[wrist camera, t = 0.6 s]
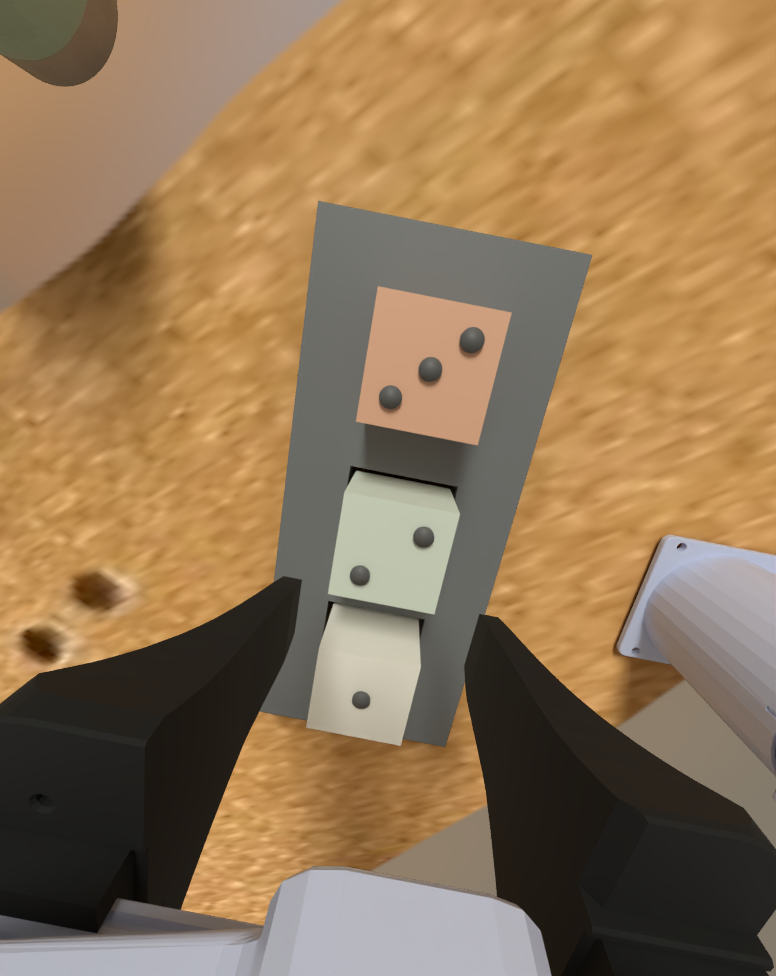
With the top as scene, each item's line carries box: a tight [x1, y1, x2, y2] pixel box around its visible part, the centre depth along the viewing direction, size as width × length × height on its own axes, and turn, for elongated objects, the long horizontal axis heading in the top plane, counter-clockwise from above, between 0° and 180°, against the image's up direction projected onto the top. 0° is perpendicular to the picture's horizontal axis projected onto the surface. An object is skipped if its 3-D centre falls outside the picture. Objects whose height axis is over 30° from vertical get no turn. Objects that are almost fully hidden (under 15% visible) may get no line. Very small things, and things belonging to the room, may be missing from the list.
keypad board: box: [260, 201, 592, 747], centre depth 21 cm, size 12×28×2 cm, turn 169°
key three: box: [356, 286, 512, 445], centre depth 16 cm, size 5×5×4 cm
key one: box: [306, 602, 421, 746], centre depth 21 cm, size 5×5×4 cm
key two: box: [328, 470, 460, 614], centre depth 19 cm, size 5×5×4 cm
